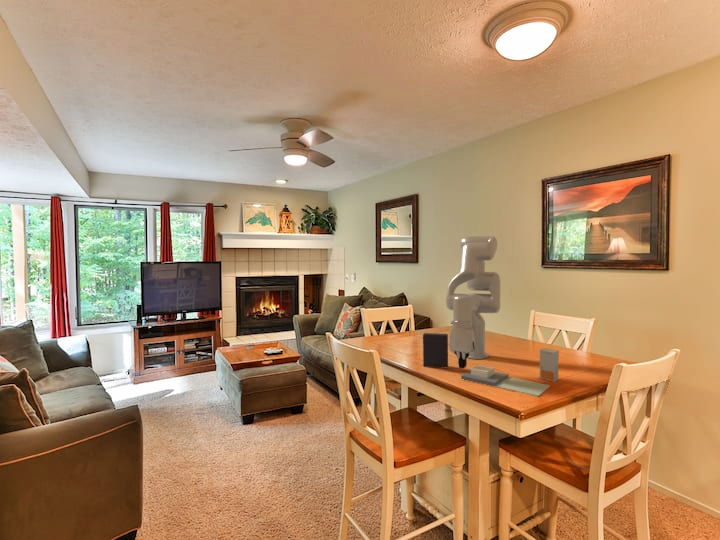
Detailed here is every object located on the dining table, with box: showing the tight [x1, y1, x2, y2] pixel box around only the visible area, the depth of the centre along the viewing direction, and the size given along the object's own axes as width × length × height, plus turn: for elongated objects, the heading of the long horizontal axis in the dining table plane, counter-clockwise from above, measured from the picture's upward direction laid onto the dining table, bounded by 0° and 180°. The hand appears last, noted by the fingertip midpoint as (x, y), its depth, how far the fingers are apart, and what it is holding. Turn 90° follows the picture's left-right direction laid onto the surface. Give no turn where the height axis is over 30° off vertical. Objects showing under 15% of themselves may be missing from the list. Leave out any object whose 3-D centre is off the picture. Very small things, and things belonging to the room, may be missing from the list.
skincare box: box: [539, 347, 560, 382], centre depth 156 cm, size 6×4×12 cm
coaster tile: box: [470, 364, 495, 378], centre depth 159 cm, size 7×7×2 cm
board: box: [460, 370, 510, 387], centre depth 158 cm, size 14×14×2 cm
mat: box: [494, 376, 551, 397], centre depth 148 cm, size 16×14×1 cm
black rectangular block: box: [422, 332, 449, 368], centre depth 177 cm, size 11×4×15 cm, turn 74°
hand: (462, 367), depth 164 cm, fingers closed
